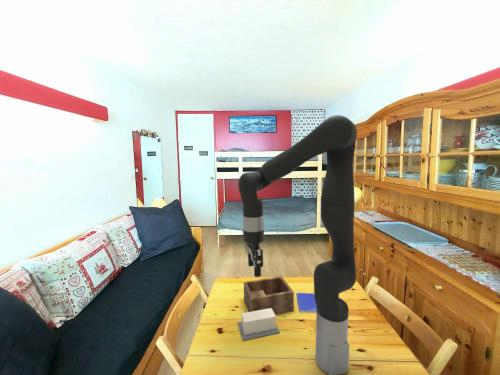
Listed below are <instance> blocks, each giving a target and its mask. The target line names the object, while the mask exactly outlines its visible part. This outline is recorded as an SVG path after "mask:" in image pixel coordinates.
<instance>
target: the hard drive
mask: <svg viewBox="0 0 500 375" xmlns="http://www.w3.org/2000/svg"><path fill="white" fill-rule="evenodd" d="M295 295H296V300H297V306H298V310H299V313H306V314H307V313H308V314H309V313H310V314H313V313H314V314H317V305H316V302H315V298H314V293H312V292H311V293H309V292H308V293H306V292H296V294H295Z"/></svg>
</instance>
